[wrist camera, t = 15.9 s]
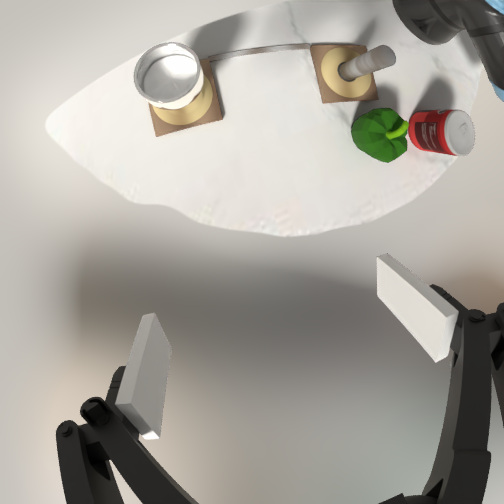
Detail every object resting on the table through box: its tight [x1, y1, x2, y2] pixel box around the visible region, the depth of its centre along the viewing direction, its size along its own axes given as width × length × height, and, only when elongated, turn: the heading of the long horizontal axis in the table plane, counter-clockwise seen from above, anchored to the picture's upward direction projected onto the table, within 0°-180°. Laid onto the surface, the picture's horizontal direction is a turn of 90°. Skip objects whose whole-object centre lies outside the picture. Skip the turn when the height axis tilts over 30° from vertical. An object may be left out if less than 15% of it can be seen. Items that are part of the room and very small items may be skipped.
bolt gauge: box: [148, 44, 396, 137], centre depth 32 cm, size 36×11×13 cm, turn 102°
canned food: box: [408, 110, 475, 156], centre depth 38 cm, size 8×8×11 cm
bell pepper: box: [351, 108, 409, 163], centre depth 38 cm, size 8×8×10 cm
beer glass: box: [134, 42, 204, 115], centre depth 29 cm, size 7×7×15 cm
